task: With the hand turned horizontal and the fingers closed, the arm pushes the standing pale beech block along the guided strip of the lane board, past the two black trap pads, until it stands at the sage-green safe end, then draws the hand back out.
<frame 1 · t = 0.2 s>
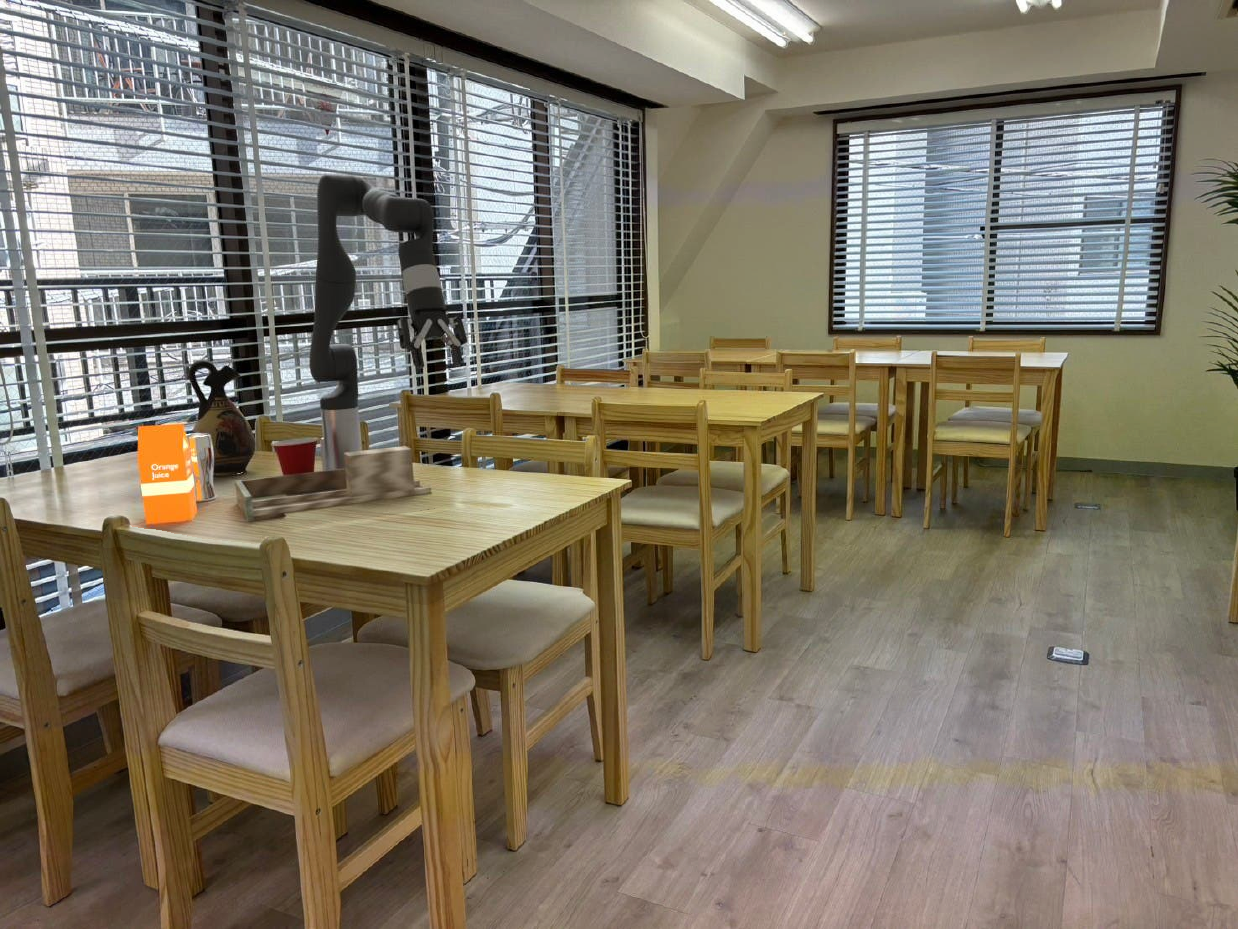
hand: (439, 366, 187), 30 cm above the table, tool tilted 20°, fingers open, 8 cm apart
trap pads: (346, 498, 207), resting on lane board
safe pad: (269, 500, 203), in the lane board, point 1 cm above the table
beech block: (381, 494, 207), point 1 cm above the table, touching lane board
orange juice: (172, 518, 194), on the table
beer glass: (202, 499, 211), on the table
ceramic jug: (223, 474, 241), on the table
plastic cup: (299, 488, 220), on the table
lane board: (346, 498, 207), on the table
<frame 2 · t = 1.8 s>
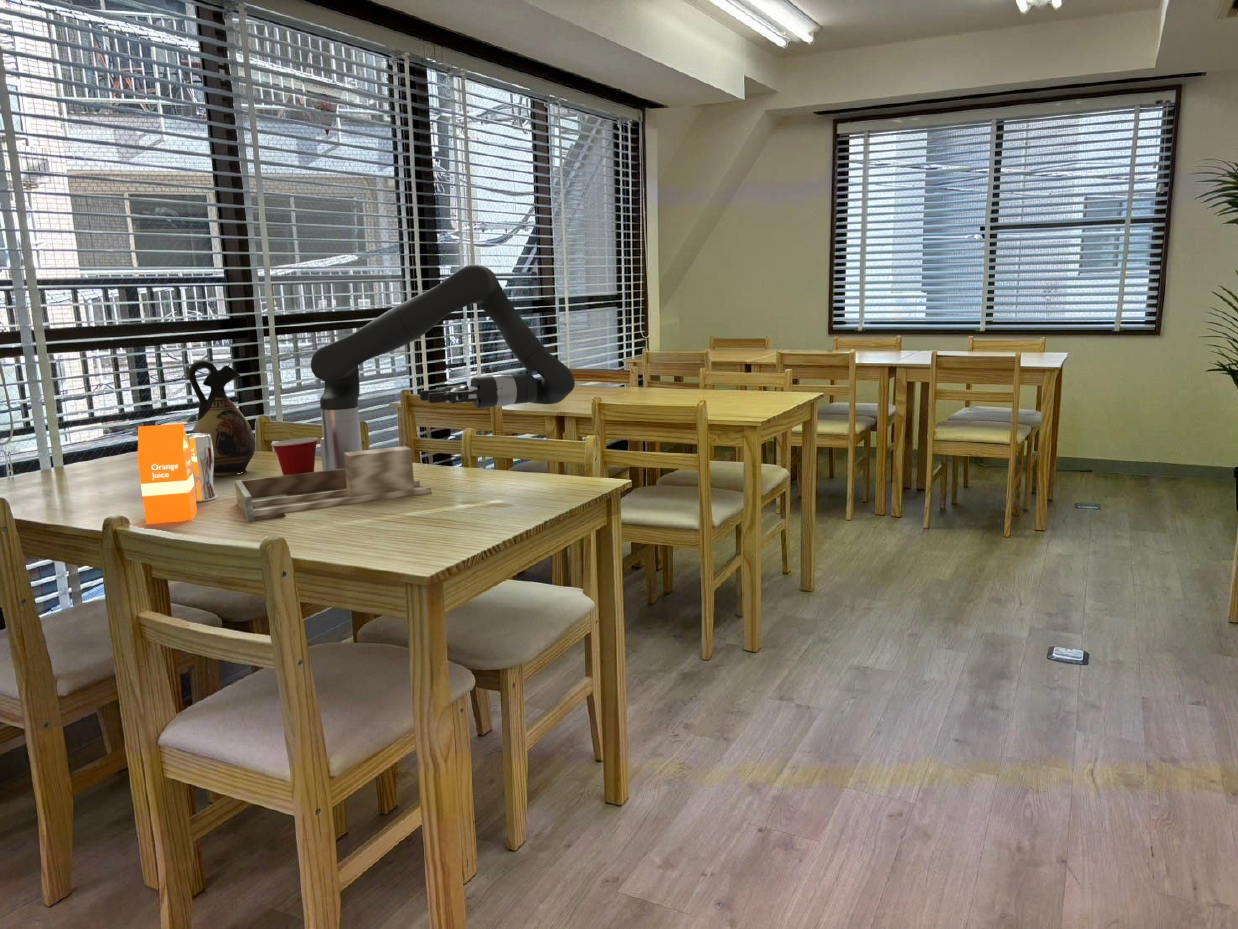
hand: (424, 397, 208), 22 cm above the table, tool horizontal, fingers open, 6 cm apart
nothing on the table moved.
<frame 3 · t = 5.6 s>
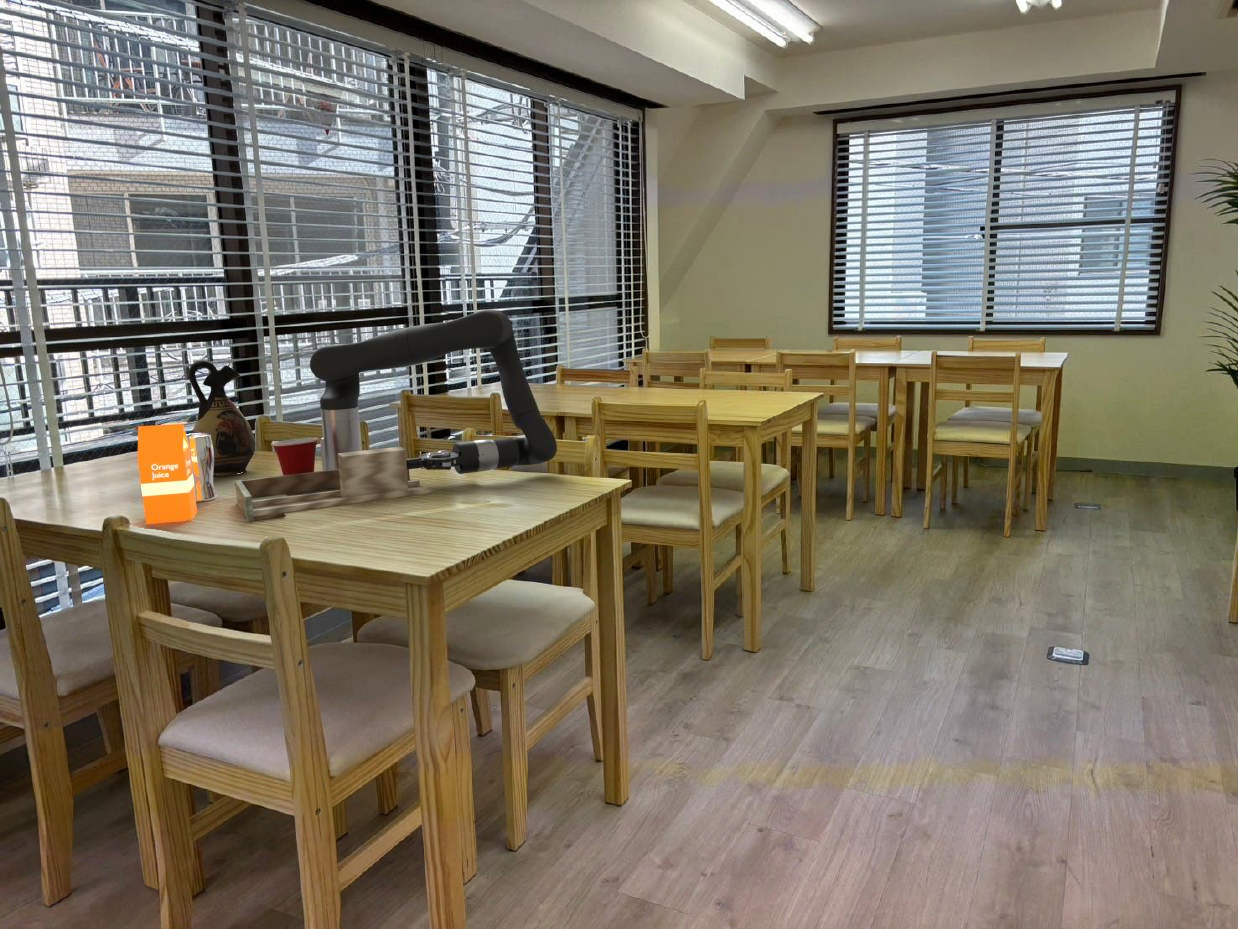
hand: (403, 464, 208), 7 cm above the table, tool horizontal, fingers closed
beech block: (375, 494, 206), point 1 cm above the table, touching gripper, lane board
everything else where it was.
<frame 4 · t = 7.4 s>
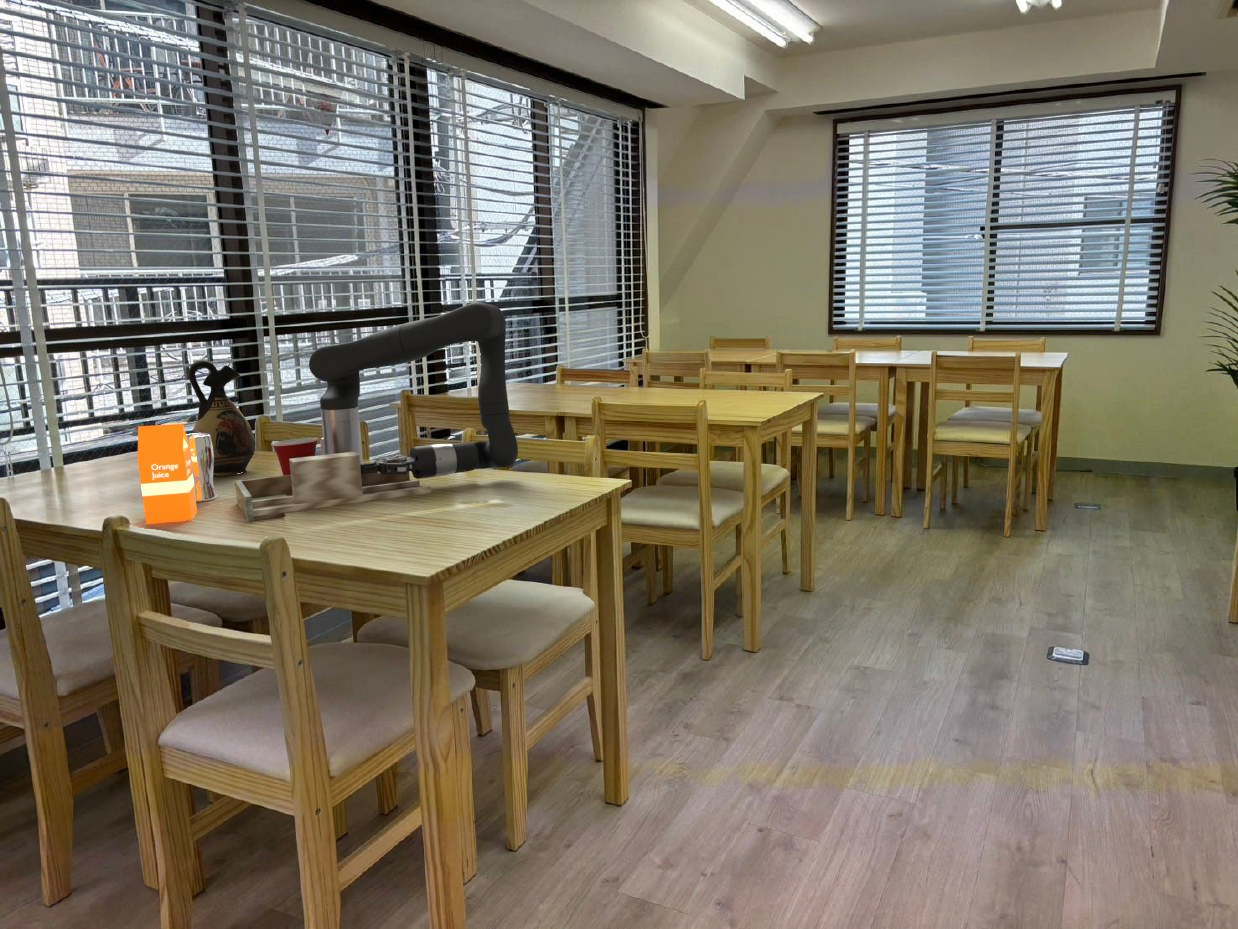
hand: (358, 469, 203), 7 cm above the table, tool horizontal, fingers closed
beech block: (328, 501, 201), point 1 cm above the table, touching lane board
everything else where it was.
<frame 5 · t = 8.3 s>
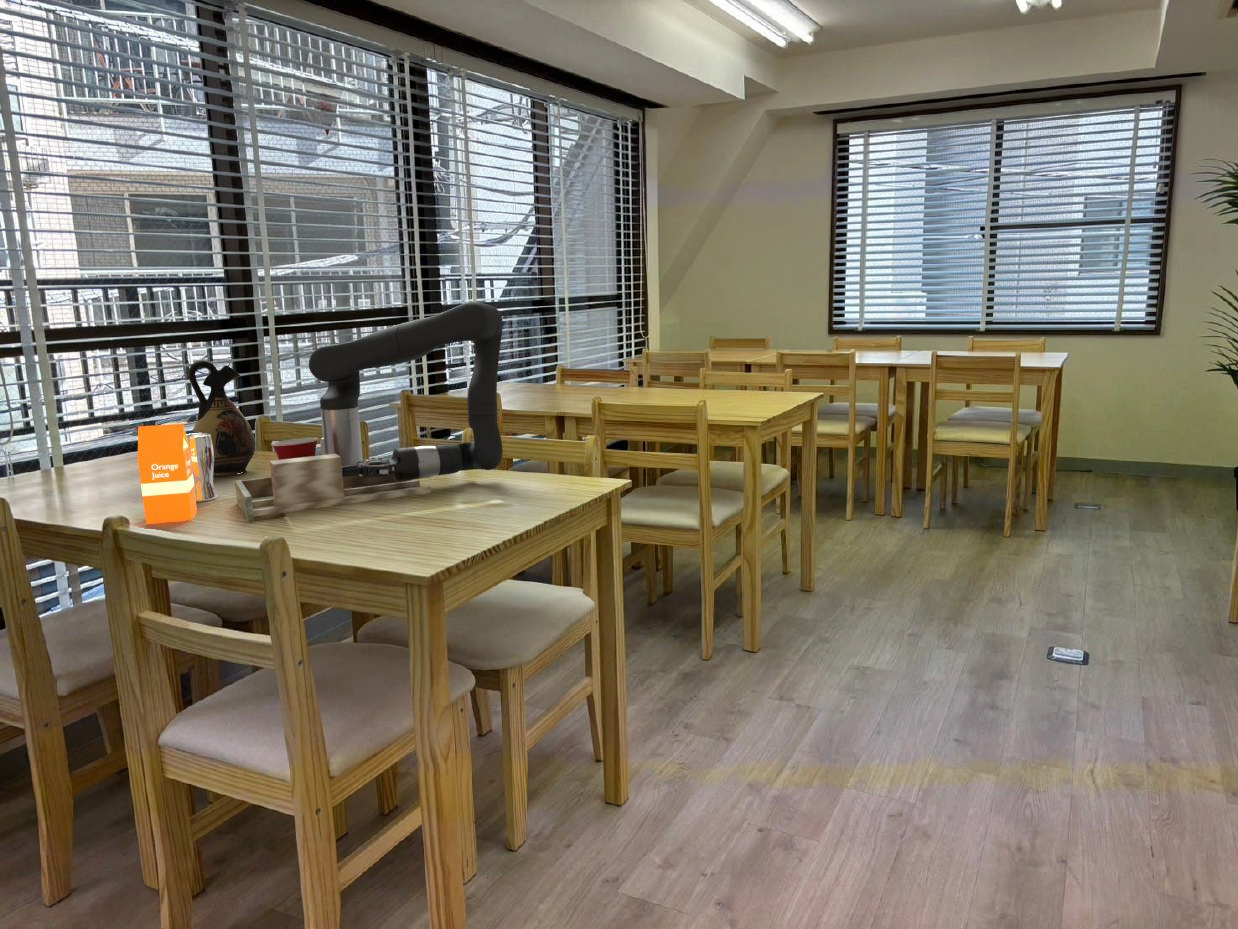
hand: (339, 471, 202), 7 cm above the table, tool horizontal, fingers closed
beech block: (309, 503, 199), point 1 cm above the table, touching gripper, lane board
everything else where it was.
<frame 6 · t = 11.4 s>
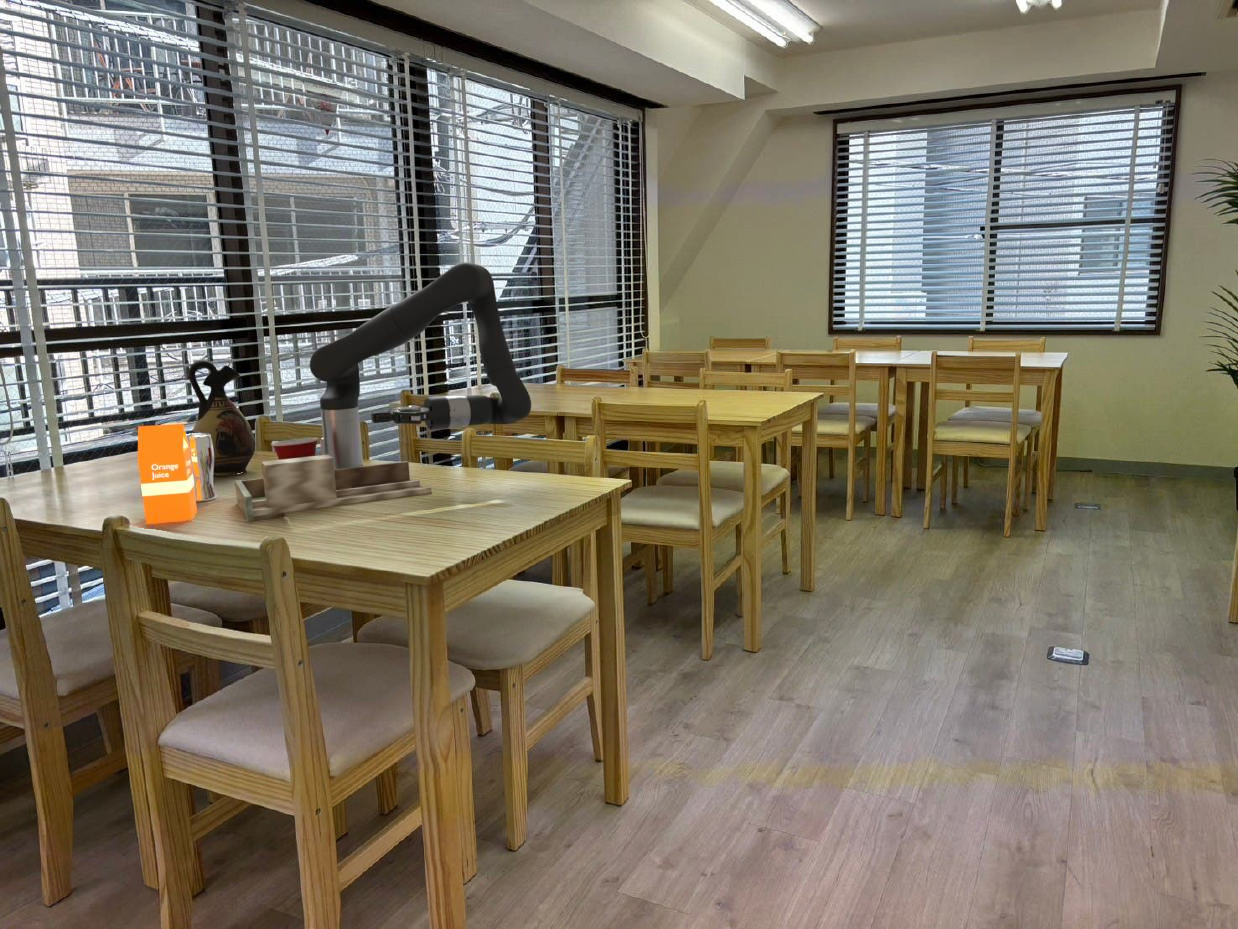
hand: (372, 417, 203), 18 cm above the table, tool horizontal, fingers closed
beech block: (302, 504, 199), point 1 cm above the table, touching lane board
everything else where it was.
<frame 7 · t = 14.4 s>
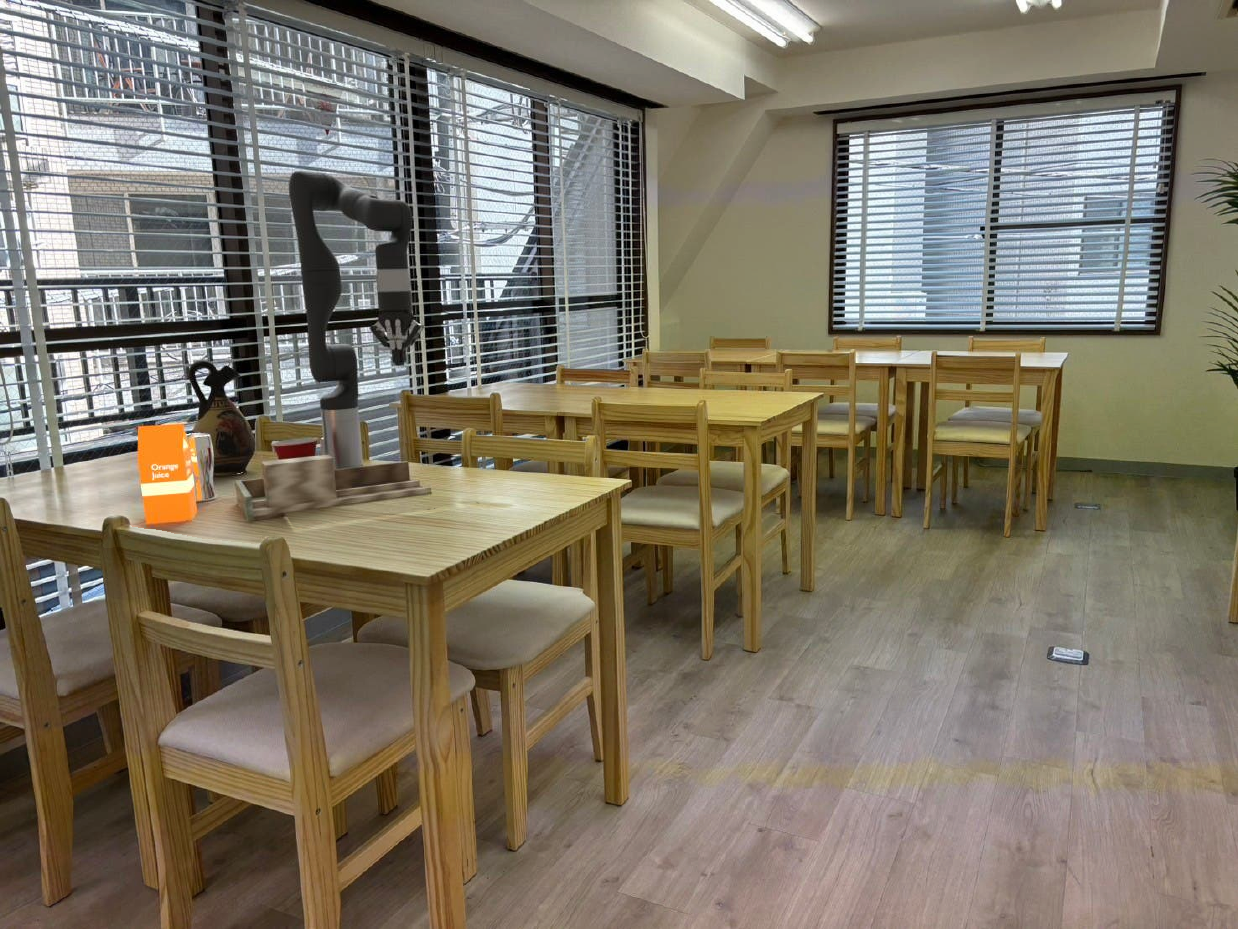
hand: (399, 365, 212), 29 cm above the table, tool pointing down, fingers closed
nothing on the table moved.
at the end: beech block inside the target area on the lane board (0.5 cm from its centre), point 0.8 cm above the lane board's base; beech block tilted 0° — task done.
